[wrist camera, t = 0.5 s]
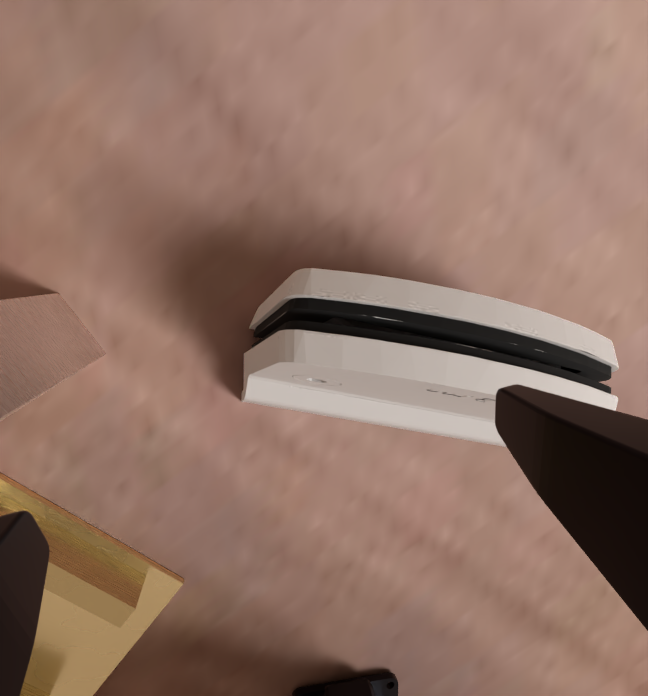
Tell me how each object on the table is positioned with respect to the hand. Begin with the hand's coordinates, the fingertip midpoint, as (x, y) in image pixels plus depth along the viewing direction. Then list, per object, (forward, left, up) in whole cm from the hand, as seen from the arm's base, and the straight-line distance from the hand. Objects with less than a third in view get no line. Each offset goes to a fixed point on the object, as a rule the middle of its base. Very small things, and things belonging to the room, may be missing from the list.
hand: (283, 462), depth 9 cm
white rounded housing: (-1, -8, -15) cm, 17 cm away
